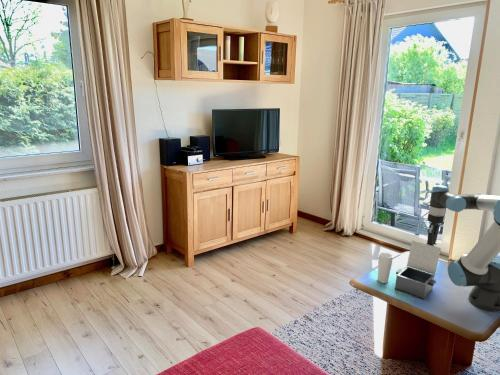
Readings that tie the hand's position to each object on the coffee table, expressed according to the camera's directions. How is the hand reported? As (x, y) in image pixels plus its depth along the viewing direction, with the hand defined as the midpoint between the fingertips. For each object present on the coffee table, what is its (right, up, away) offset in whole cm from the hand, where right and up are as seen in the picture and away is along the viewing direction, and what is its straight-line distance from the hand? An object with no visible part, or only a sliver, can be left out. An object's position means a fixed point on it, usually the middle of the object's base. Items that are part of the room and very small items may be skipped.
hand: (429, 255), depth 198 cm
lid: (-8, +1, -9) cm, 12 cm away
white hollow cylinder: (-27, -13, -4) cm, 30 cm away
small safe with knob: (-14, -15, -11) cm, 23 cm away
